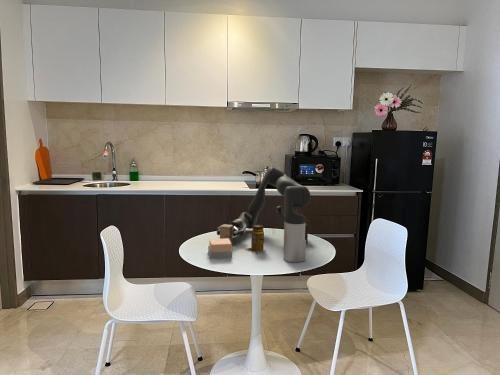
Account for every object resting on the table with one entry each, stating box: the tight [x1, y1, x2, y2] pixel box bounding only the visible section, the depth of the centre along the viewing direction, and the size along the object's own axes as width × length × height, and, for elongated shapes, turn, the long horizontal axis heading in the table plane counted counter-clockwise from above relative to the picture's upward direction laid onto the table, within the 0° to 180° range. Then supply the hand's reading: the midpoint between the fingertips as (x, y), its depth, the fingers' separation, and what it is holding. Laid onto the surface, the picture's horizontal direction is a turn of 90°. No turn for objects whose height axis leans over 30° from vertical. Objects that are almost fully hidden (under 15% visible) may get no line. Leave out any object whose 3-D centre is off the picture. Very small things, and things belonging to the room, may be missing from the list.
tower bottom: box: [207, 245, 233, 260], centre depth 177 cm, size 10×10×4 cm
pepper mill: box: [275, 205, 309, 244], centre depth 202 cm, size 16×11×18 cm
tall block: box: [219, 223, 234, 246], centre depth 192 cm, size 5×5×10 cm
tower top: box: [208, 238, 233, 252], centre depth 176 cm, size 9×9×4 cm
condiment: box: [244, 224, 267, 254], centre depth 184 cm, size 7×8×12 cm
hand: (225, 234), depth 191 cm, fingers open, 8 cm apart
